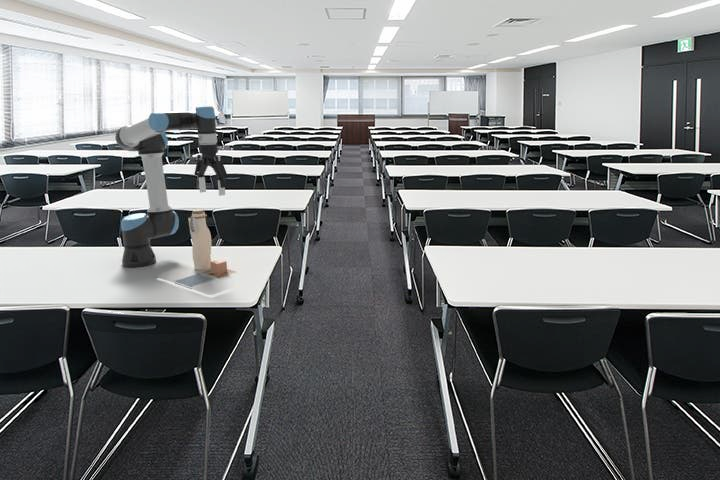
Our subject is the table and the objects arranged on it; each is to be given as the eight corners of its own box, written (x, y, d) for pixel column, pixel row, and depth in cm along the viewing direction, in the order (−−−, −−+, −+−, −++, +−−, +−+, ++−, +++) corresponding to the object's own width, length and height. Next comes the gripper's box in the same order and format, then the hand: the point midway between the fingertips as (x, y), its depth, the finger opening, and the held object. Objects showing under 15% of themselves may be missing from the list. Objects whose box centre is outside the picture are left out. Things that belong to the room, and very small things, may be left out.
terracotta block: (211, 272, 234) (210, 261, 233) (220, 269, 238) (219, 259, 237) (218, 274, 231) (217, 263, 230) (227, 271, 235) (226, 261, 234)
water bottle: (206, 273, 236) (201, 213, 229) (188, 272, 238) (182, 212, 231) (217, 266, 246) (212, 208, 239) (199, 265, 248) (194, 207, 240)
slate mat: (174, 283, 224) (174, 281, 224) (198, 275, 233) (198, 273, 233) (191, 289, 217) (191, 286, 217) (214, 281, 226) (214, 278, 226)
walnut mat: (201, 274, 235) (201, 272, 234) (220, 268, 242) (219, 266, 242) (218, 279, 227) (218, 277, 227) (236, 273, 235) (236, 271, 235)
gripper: (183, 143, 224) (188, 192, 230) (218, 145, 209) (223, 197, 215) (198, 142, 230) (202, 189, 235) (234, 144, 215) (237, 195, 220)
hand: (212, 193), depth 225 cm, fingers open, 13 cm apart
